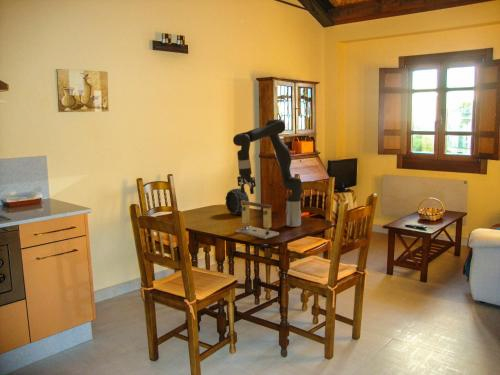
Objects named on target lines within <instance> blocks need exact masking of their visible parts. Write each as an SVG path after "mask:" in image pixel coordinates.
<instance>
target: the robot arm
mask: <svg viewBox="0 0 500 375" xmlns="http://www.w3.org/2000/svg"><path fill="white" fill-rule="evenodd" d="M265 124H266V125H265V126H259V127H256V128H252V129H250V130H248V131H245V132H241V133H237V134H235V135H234V136H233V138H232V139H233V140H232V142H233V144H234V145H235V146H237V147H240V149H239V150H237V153H236V154H237V168H238V176H237V177H236V178H237V186H238V187H239V188H240V189H241V193H245V192H246V190H245V185H247V186H248V187H249V192H250V195H253V194H255V190H254V188H255V187H257V185H256V184H257V183H256V178H255V176H252V172H253V171H252V164H251V158H250V148H251V143H253V142H257V141H258V140H261V139H263V138H266V137H268V138H269V140H270V141H271V144H272V146H273V150H274V153H275V157H276V160H277V162H278V165H279V169H280V171H281V173H280V174H281V177H282V181H283V185H284V188H285V189H286V190H288V191H290V192H291V194H290V195H287V196H286V226H287V227H290V228H291V227H293V228H296V227H300V226H301V225H302V211H301V198H302V189H303V183H302V182H303V181H302V180H301V178H300V177H296V176H292V173H291V164H292V160H293V159H292V155H291V151H290V149H289V148H288V146H287V145H286V144H285V143H284V141H283V140H282V139H281V138H280V136H279V135H280V134H283V132H285V130H286V124H285V122H284V120H283V119H278V118H277V119H269V120H267V121H266V123H265Z"/></svg>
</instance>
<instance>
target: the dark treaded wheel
mask: <svg viewBox="0 0 500 375" xmlns="http://www.w3.org/2000/svg"><path fill="white" fill-rule="evenodd" d="M243 200H245V201H248V202H250V198H249V195H248V194H247V191H245V193H241V187H239V188H232V189H231V190H229V191H228V192H227V193H226V196H225V206H226V209H227V211H228V212H229V213H230V214H231V215H234V216H235V215H236V216H239V215H240V216H241V215H242V210H241V208H242V205H241V201H243Z"/></svg>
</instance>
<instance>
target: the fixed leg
mask: <svg viewBox="0 0 500 375" xmlns="http://www.w3.org/2000/svg"><path fill="white" fill-rule="evenodd" d="M262 215H263V217H262V218H263V222H262V223H263V228H264V229H265V230H266V233H269V230H270V228H272V208H270V209H268V208H263V209H262Z"/></svg>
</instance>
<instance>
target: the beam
mask: <svg viewBox="0 0 500 375" xmlns="http://www.w3.org/2000/svg"><path fill="white" fill-rule="evenodd" d="M243 204H244V205H249V207H257V208H268V209H270V208H271V209H272V205H271V204H266V203H261V202H255V201H253V202H252V201H249V202H248V201H245V200H243V201H241V205H243Z"/></svg>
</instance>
